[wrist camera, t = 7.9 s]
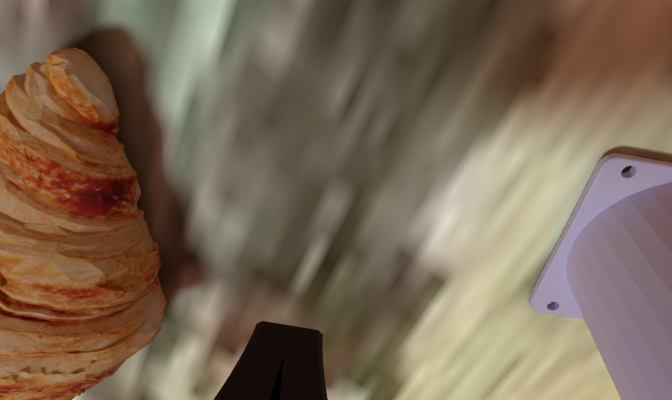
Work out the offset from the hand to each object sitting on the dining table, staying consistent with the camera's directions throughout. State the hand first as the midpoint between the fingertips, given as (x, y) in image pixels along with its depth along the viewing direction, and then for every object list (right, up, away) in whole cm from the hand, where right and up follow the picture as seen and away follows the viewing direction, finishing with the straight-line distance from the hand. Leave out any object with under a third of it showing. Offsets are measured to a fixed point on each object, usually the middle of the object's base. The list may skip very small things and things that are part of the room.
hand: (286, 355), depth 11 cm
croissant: (-11, +1, +13) cm, 17 cm away
